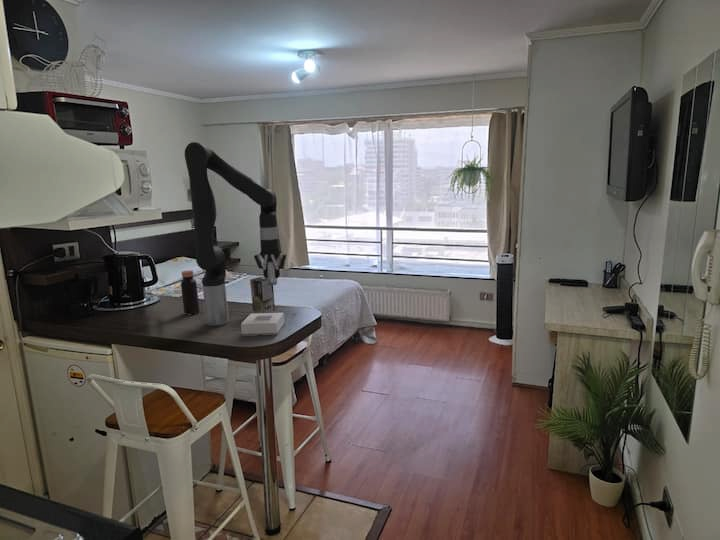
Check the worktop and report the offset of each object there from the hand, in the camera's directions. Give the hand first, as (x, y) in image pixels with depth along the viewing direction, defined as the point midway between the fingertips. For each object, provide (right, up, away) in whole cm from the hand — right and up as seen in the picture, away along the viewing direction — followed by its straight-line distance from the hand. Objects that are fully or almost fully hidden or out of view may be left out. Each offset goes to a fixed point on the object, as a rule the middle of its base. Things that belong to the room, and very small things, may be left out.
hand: (272, 277), depth 196 cm
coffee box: (-7, -17, +16) cm, 24 cm away
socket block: (-2, -21, -8) cm, 23 cm away
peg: (0, -3, +1) cm, 3 cm away
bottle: (-41, -17, +21) cm, 49 cm away
